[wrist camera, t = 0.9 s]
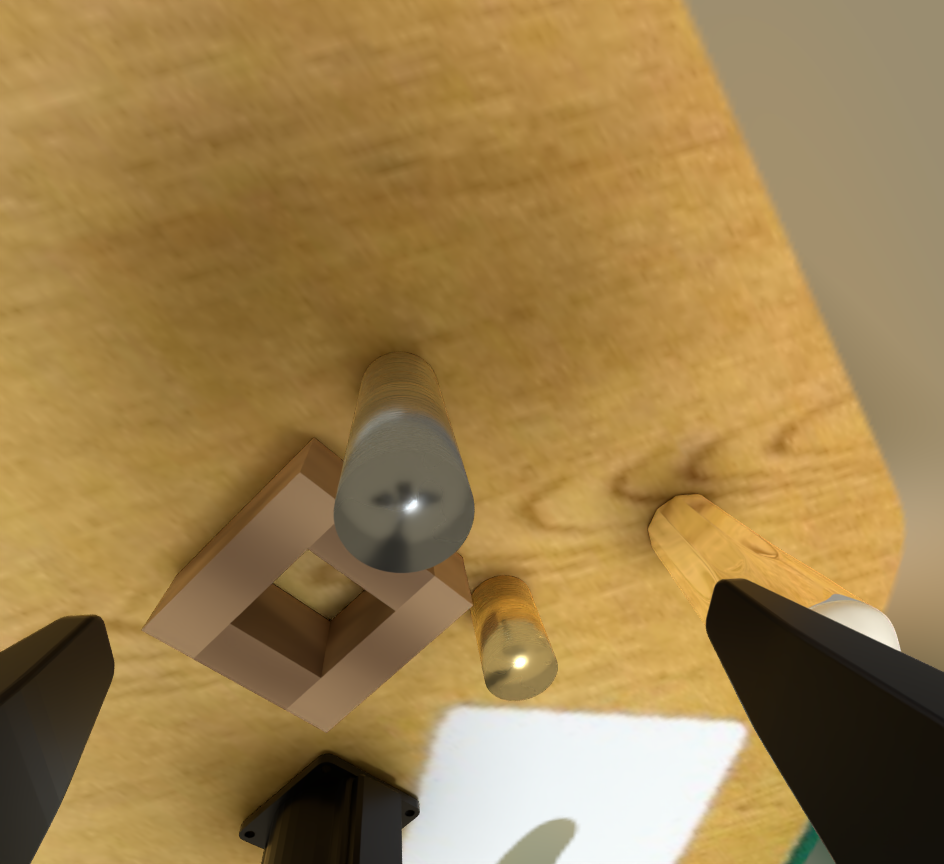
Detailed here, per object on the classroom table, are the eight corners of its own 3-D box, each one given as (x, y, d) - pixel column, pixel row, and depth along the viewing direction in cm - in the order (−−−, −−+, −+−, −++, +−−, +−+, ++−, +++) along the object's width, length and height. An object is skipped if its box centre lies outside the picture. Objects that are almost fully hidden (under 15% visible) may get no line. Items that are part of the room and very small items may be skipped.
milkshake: (621, 484, 21) (795, 673, 12) (737, 475, 22) (988, 648, 13) (610, 573, 23) (758, 801, 14) (720, 562, 24) (930, 772, 14)
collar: (334, 672, 23) (326, 732, 20) (176, 575, 20) (141, 630, 17) (462, 557, 21) (473, 605, 19) (314, 437, 19) (300, 472, 16)
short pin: (498, 636, 23) (518, 711, 20) (456, 604, 22) (469, 677, 19) (543, 598, 23) (572, 667, 19) (502, 564, 22) (524, 630, 18)
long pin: (401, 440, 19) (407, 595, 11) (344, 390, 18) (303, 519, 10) (453, 389, 19) (502, 510, 10) (398, 335, 18) (403, 421, 9)
